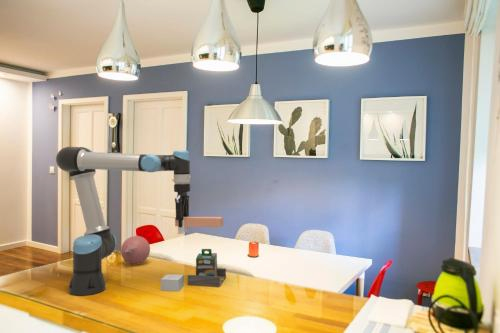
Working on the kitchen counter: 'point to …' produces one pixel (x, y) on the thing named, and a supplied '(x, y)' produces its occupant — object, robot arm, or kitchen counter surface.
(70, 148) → the robot arm
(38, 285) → the kitchen counter surface
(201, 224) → the bar
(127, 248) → the balloon
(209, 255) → the chalk box
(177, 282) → the white and tan block
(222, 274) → the cradle
